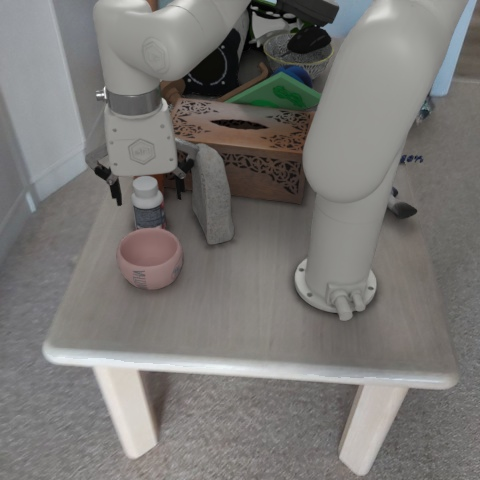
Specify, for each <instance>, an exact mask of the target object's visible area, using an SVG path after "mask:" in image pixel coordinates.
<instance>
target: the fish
mask: <svg viewBox="0 0 480 480" xmlns="http://www.w3.org/2000/svg"><path fill="white" fill-rule="evenodd" d="M398 195H399V190H398V189H397V188H396V187H395V186H392V190H391V193H390V197H389V201H388V205H387V208H388V209H389V210H390V211H391V212H392V213H393V214H394V215H395V216H396V217H397V218H399V219H407V218H411V217H413V216H414V215H416V214H417V213H418V209H417V208H416V207H415V206H412V205H411V204H409V203H407V202H405V201H402V200H400V199H398V198H396V197H397V196H398Z"/></svg>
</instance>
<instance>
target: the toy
mask: <svg viewBox="0 0 480 480" xmlns="http://www.w3.org/2000/svg"><path fill="white" fill-rule="evenodd" d="M321 95H322V93H320V92H319V91H316V90H314V88H313V89H311V88H309V87H308V86H306V85H304V84H302V83H301V82H299V81H297V80H295V79H294V78H292V77H290V76H289V75H287V74H285V73H283V72H282V71H281V72H280V73H278V74H276V75H274V76H272V77H271V76H270V77H268V78H266V79H265V80H264V81H263V82H261V83H259V84H257V85H255V86H253V87H251V88H249V89H247V90H246V91H244V92H242V93H240V94H238V95H236V96H234V97H232V98H230V99H229V100H227V101H225V103H234V104H243V105H253V106H261V107H272V108H281V109H290V110H300V111H306V110H307V109H309V108H311V107H315V106H316V105H317V106H318V104H319V101H320V98H321Z"/></svg>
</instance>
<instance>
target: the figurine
mask: <svg viewBox="0 0 480 480" xmlns="http://www.w3.org/2000/svg"><path fill="white" fill-rule="evenodd" d="M252 14H253V15H252V28H253V32H254V36H255V40H251V41H249V43H257V47H260V45H263V46H264V44H265V42H266V41H267V40H269V39H270V38H272V37H275V36H278V35H282V34H289V33H290V30H292V29H293V28H295V27H297V28H298V29H299V30H300V29H301V28H302V26H303V25H304V23H303V22H302V21H301V20H300V18H298V19H297V23H291V24H288V23H287V22H286V21H284V20H283V19H282V18H280V19H273V20H272V19H265V18H262V17H259V16H257V15H256V13H255V12H252Z"/></svg>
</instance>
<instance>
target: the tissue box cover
mask: <svg viewBox="0 0 480 480" xmlns="http://www.w3.org/2000/svg"><path fill="white" fill-rule="evenodd" d="M315 113H316V111H310V110H309V111H308V110H302V111H300V110H290V109H281V108H272V107H261V106H253V105H243V104H234V103H225V102H215V100H204V99H196V98H188V97H187V98H185V97H182V98H179V99H178V101H177V103H176V104H175V106H173V108H172V110H171V111H170V115H171V118H172V123H173V128H174V135H175V137H177V138H180V139H182V140H185V141H188V142H190V143H193V144H200V143H203V144H206V145H207V146H209V147H211V148H213V149H215V150H216V151H217V152H218V154H219V155H220V156H221V158H222V159H223V163H224V167H225V171H226V176H227V180H228V184H229V188H230V194H231V196H234V197H243V198H250V199H260V200H268V201H276V202H282V203H283V202H285V203H290V204H291V203H292V204H298V205H302V203H303V199H304V193H305V187H306V184H307V183H306V182H307V178H306V176H305V173H304V169H303V160H302V158H303V149H304V145H305V141H306V138H307V135H308V133H309V130H310V127H311V124H312V121H313V118H314V115H315ZM187 156H188V153H186V152H184V151H181V150H178V149H177V159H179V160H180V161H181V162H182V161H183V160H184V159H185V158H186V157H187ZM184 183H185V191H186V190H187V191H193V181H192V171H191V169H190V170H189V172H188V173H187V174H186V177H185V178H184ZM163 185H164V188H169V189H170V188H172V189H176V185H175V175H174V173H173V172H169V173H164V179H163Z"/></svg>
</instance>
